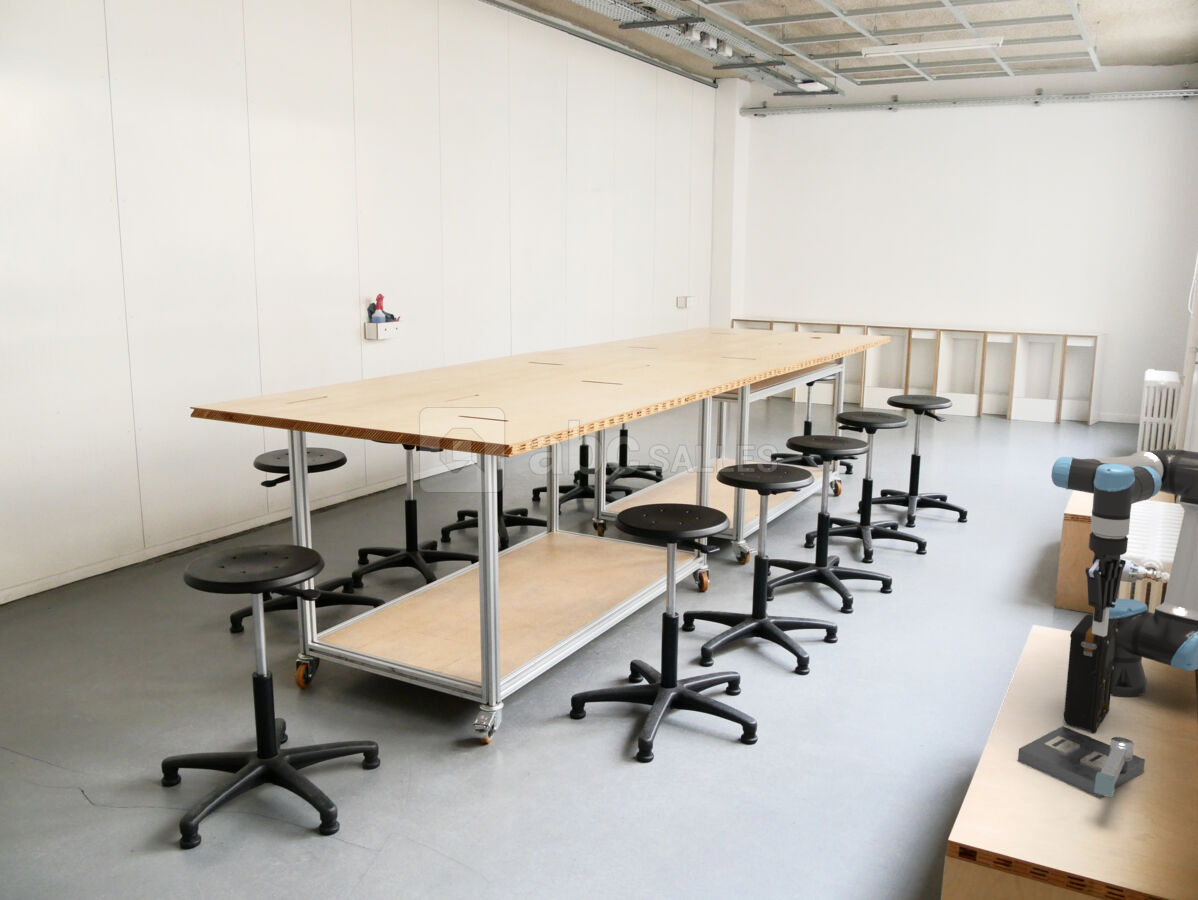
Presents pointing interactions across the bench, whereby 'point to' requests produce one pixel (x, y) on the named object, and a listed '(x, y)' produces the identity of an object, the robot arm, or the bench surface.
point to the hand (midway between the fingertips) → (1099, 634)
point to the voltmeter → (1089, 675)
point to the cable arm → (1113, 765)
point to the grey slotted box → (1075, 759)
